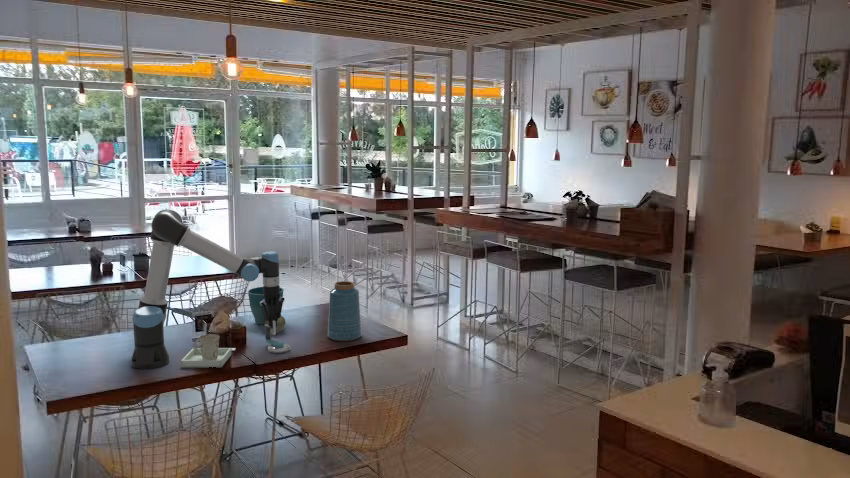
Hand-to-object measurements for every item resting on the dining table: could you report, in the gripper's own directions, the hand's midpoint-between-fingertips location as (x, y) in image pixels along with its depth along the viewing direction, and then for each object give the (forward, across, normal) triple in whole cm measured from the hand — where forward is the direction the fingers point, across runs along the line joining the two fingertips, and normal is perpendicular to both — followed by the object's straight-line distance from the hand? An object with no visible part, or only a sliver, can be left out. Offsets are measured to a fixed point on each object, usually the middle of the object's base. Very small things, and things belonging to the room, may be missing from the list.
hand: (273, 334), depth 311 cm
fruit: (+5, +11, +14) cm, 19 cm away
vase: (+5, +30, -16) cm, 34 cm away
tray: (+4, -34, -1) cm, 35 cm away
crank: (+3, -3, -5) cm, 7 cm away
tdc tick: (+4, -19, +5) cm, 20 cm away
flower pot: (+5, +18, +33) cm, 38 cm away
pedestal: (+4, -4, -10) cm, 12 cm away
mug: (+3, -34, +1) cm, 34 cm away
